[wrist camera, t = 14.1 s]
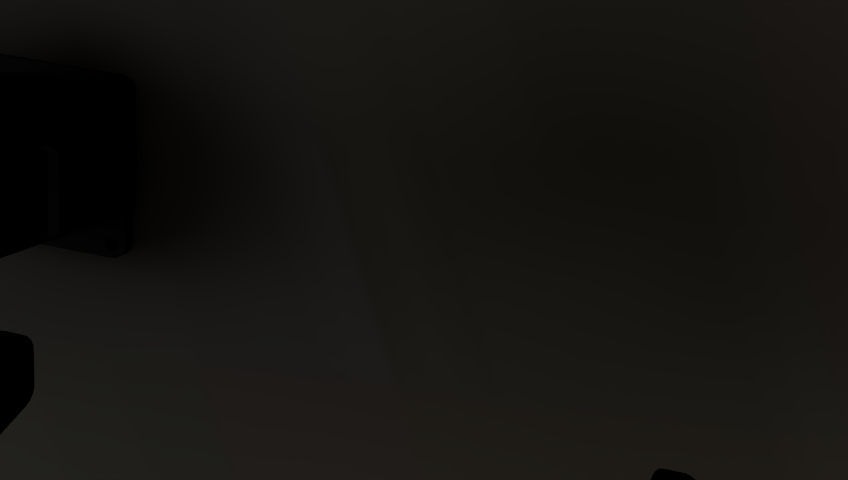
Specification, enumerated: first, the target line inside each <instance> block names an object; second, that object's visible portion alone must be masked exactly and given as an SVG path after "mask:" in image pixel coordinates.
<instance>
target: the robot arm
mask: <svg viewBox="0 0 848 480" xmlns="http://www.w3.org/2000/svg"><path fill="white" fill-rule="evenodd" d="M117 83H119V84H120V86H121V88H122V93H121V95H120V96H119V95H118V94H117V93H116V91H115V85H116V84H117ZM135 96H136V91H135V85H134V83H133V82H132V80H131V79H130V78H129V77H128V76H125V75H123V74H117V73H111V72H105V71H99V70H93V69H87V68H81V67H75V66H69V65H63V64H57V63H52V62H46V61H40V60H34V59H28V58H22V57H16V56H10V55H4V54H0V258H2V257H5V256H8V255H11V254H14V253H17V252H19V251H22V250H25V249H28V248H31V247H34V246H36V245H39V244H44V245H49V246H54V247H59V248H64V249H69V250H75V251H80V252H85V253H90V254H95V255H100V256H105V257H111V258H117V257H119V256H121V255H124V254H126V253H128V251H129V250H130V248H131V243H132V211H133V210H134V209H135V202H136V167H137V141H136V140H135V138H134V132H135ZM113 238H114V239H116V241H117V242H118V245H119V247H118V248H116V247H115V246H114V245H113V243H112V239H113ZM33 391H34V348H33V343H32V341H31V339H30V338H28V337H27V336H25V335H21V334H16V333H11V332H7V331H0V434H1V433H2V432H3V431H4V430H5V429H6V428H7V427H8V425H9V424H10V423H11V422H12V421H13V420H14V419H15V418H16V417H17V415H18V414H19V413H20V412H21V411H22V410H23V409H24V408H25V406H26V405H27V404H28V402H29V401H30V399H31V397H32V394H33ZM651 480H695V479H694V478H693V477H691V476H690V475H688V474H686V473H682V472H677V471H672V470H667V469H657V470H656V471H655V472H654V474H653V476H652V478H651Z"/></svg>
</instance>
